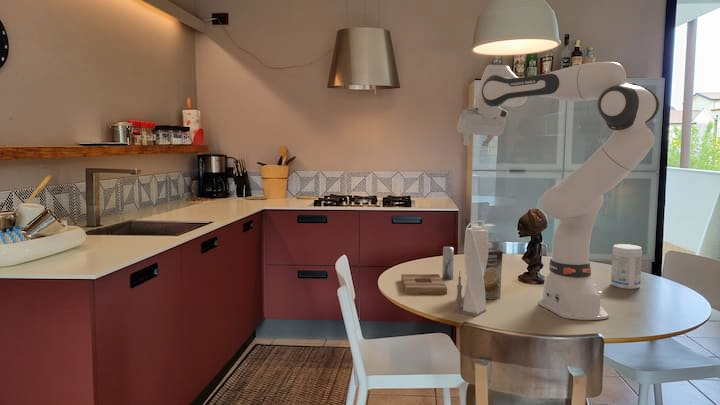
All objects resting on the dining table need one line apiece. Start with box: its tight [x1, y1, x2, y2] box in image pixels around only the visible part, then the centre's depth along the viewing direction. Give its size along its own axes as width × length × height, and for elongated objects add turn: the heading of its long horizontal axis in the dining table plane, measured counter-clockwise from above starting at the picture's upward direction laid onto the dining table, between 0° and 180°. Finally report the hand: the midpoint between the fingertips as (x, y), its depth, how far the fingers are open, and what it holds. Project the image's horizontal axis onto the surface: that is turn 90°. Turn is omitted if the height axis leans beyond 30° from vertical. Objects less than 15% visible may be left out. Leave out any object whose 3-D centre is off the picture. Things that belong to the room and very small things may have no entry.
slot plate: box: [400, 273, 448, 295], centre depth 188 cm, size 18×14×2 cm
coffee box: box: [483, 247, 503, 301], centre depth 175 cm, size 9×6×16 cm
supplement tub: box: [610, 243, 643, 290], centre depth 190 cm, size 10×10×15 cm
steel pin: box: [441, 246, 455, 281], centre depth 199 cm, size 4×4×12 cm
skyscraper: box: [454, 219, 490, 317], centre depth 159 cm, size 8×8×28 cm
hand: (475, 146), depth 192 cm, fingers open, 8 cm apart
